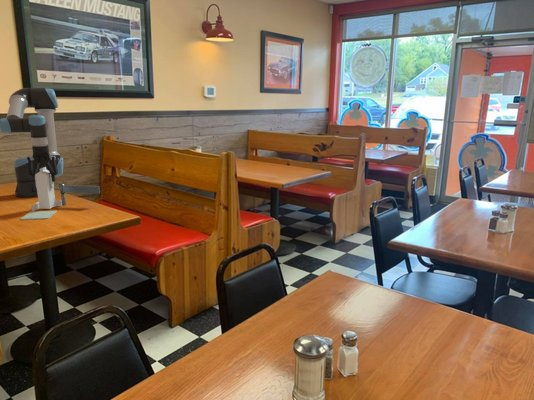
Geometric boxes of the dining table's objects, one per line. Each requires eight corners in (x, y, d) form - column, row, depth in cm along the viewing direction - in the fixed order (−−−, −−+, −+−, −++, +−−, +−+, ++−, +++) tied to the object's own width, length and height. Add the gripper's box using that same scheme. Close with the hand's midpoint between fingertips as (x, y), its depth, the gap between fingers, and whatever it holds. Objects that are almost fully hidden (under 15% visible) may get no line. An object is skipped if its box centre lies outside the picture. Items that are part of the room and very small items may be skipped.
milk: (39, 208, 223) (33, 168, 217) (45, 205, 229) (40, 166, 223) (50, 208, 223) (45, 168, 217) (56, 205, 228) (51, 166, 223)
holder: (40, 205, 233) (39, 193, 231) (66, 204, 235) (65, 192, 233) (32, 211, 220) (30, 199, 218) (58, 210, 222) (57, 198, 221)
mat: (30, 212, 218) (30, 211, 218) (56, 211, 220) (56, 210, 220) (20, 219, 206) (20, 218, 206) (48, 218, 208) (48, 217, 208)
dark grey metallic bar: (59, 193, 231) (58, 184, 230) (61, 192, 234) (60, 183, 232) (98, 194, 229) (97, 186, 228) (100, 193, 232) (99, 185, 230)
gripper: (16, 146, 211) (22, 189, 217) (57, 146, 215) (62, 188, 221) (22, 144, 219) (28, 186, 225) (62, 144, 222) (66, 185, 228)
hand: (45, 187), depth 223 cm, fingers closed on milk, 7 cm apart
